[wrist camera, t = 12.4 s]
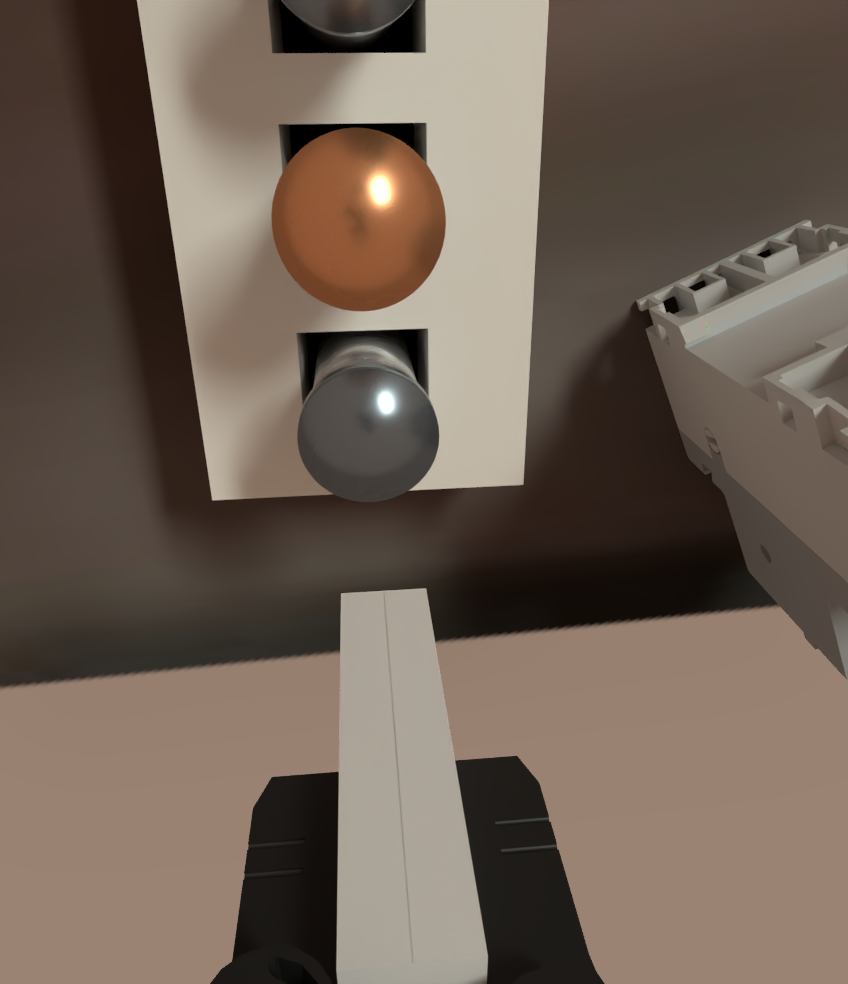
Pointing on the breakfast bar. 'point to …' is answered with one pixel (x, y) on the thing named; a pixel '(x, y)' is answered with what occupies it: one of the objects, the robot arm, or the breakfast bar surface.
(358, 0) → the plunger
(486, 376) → the panel
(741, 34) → the breakfast bar surface
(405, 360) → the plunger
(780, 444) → the circuit breaker
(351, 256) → the plunger mid
